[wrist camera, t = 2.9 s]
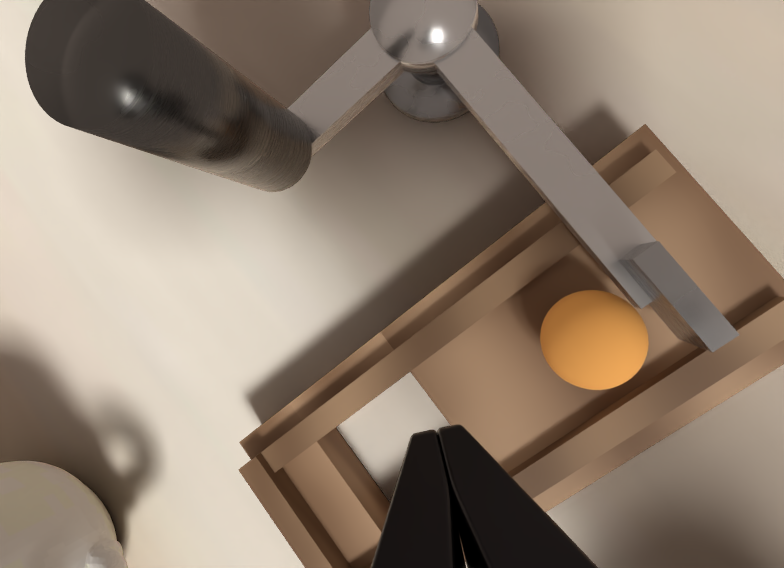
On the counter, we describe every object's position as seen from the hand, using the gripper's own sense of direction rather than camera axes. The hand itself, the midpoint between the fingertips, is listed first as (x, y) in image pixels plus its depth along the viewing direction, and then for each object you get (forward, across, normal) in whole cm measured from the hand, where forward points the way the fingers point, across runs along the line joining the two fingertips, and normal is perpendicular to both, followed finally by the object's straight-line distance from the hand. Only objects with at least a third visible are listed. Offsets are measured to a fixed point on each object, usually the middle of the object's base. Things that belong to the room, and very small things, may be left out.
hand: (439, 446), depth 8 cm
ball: (+8, -6, +4) cm, 11 cm away
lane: (+9, -3, +7) cm, 12 cm away
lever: (+10, -2, -1) cm, 10 cm away
